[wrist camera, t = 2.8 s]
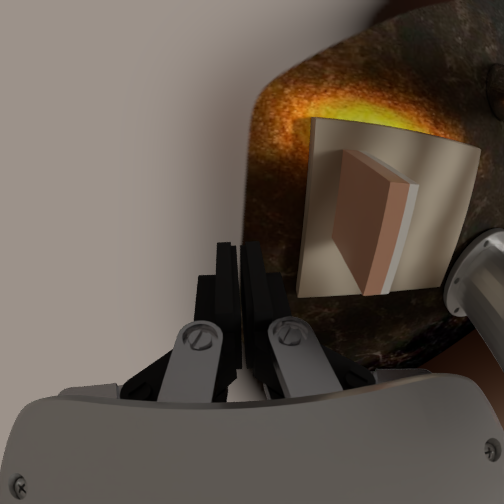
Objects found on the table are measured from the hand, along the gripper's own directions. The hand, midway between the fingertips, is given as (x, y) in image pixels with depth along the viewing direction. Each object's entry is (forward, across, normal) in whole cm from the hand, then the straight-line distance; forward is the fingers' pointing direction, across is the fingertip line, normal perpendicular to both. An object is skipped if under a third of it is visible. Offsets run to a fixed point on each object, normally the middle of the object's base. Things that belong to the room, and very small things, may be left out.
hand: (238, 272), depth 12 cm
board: (+10, -14, +2) cm, 17 cm away
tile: (+9, -8, 0) cm, 12 cm away
